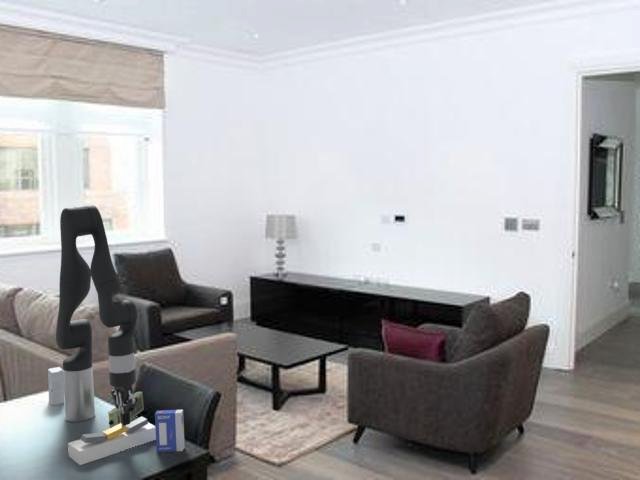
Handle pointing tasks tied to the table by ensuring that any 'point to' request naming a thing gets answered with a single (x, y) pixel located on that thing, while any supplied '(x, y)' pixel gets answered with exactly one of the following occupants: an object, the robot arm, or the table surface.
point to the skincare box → (56, 386)
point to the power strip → (110, 445)
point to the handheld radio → (116, 415)
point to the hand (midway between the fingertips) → (125, 424)
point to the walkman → (169, 430)
